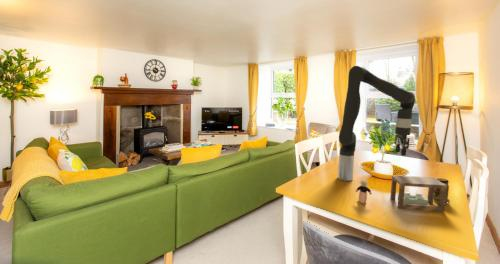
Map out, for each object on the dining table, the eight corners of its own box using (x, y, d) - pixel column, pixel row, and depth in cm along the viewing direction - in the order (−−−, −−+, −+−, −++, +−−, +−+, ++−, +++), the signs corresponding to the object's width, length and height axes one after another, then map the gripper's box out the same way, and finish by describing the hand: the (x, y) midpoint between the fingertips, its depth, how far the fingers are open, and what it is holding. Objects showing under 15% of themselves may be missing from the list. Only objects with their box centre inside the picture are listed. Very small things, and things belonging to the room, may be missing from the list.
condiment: (431, 201, 132) (433, 179, 131) (432, 196, 139) (435, 176, 137) (448, 205, 128) (451, 182, 126) (449, 199, 134) (451, 178, 132)
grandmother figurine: (354, 203, 130) (356, 180, 129) (355, 200, 134) (356, 177, 132) (371, 205, 127) (372, 182, 126) (370, 202, 131) (372, 179, 129)
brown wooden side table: (398, 208, 124) (401, 182, 122) (390, 199, 135) (392, 175, 133) (443, 212, 120) (446, 185, 118) (431, 201, 131) (433, 177, 130)
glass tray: (402, 203, 129) (402, 194, 128) (397, 199, 135) (398, 190, 134) (427, 205, 127) (428, 196, 126) (421, 200, 133) (422, 191, 132)
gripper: (391, 124, 149) (389, 150, 152) (401, 127, 135) (397, 156, 138) (405, 125, 148) (402, 151, 150) (416, 128, 134) (412, 157, 136)
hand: (400, 153), depth 144 cm, fingers open, 8 cm apart
